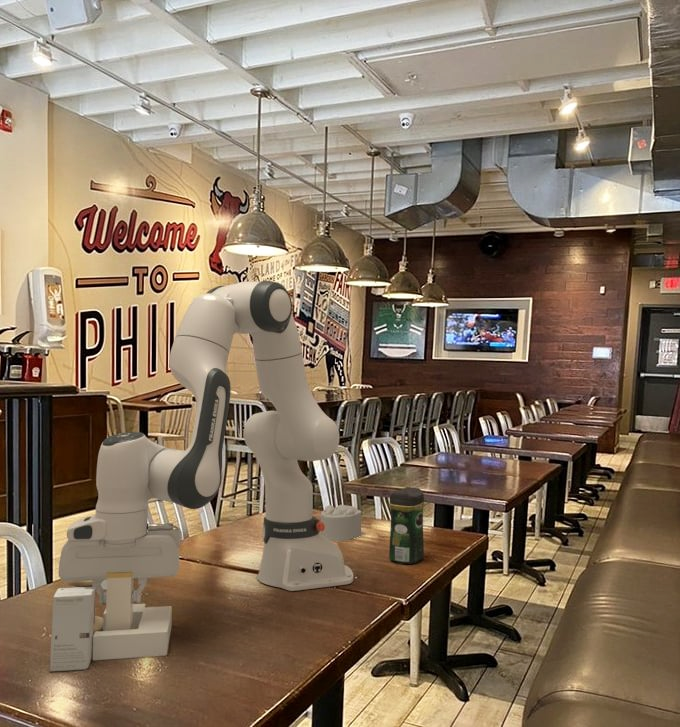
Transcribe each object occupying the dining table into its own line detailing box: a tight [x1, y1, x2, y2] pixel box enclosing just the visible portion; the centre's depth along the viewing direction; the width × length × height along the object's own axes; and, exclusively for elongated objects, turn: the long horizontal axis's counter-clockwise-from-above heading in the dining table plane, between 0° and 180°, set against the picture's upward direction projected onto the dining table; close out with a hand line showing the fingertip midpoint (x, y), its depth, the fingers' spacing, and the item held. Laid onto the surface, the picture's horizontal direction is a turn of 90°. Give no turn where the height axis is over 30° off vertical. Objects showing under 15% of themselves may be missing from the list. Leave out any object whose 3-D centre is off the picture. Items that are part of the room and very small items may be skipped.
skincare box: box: [49, 586, 96, 672], centre depth 105 cm, size 6×4×12 cm
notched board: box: [92, 603, 173, 661], centre depth 115 cm, size 12×14×4 cm
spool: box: [64, 580, 104, 635], centre depth 120 cm, size 7×7×10 cm
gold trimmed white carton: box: [105, 572, 135, 631], centre depth 113 cm, size 4×4×10 cm
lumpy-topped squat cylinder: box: [320, 504, 362, 542], centre depth 188 cm, size 10×13×9 cm
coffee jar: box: [388, 486, 425, 565], centre depth 166 cm, size 10×8×19 cm
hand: (119, 602), depth 113 cm, fingers closed on gold trimmed white carton, 4 cm apart
